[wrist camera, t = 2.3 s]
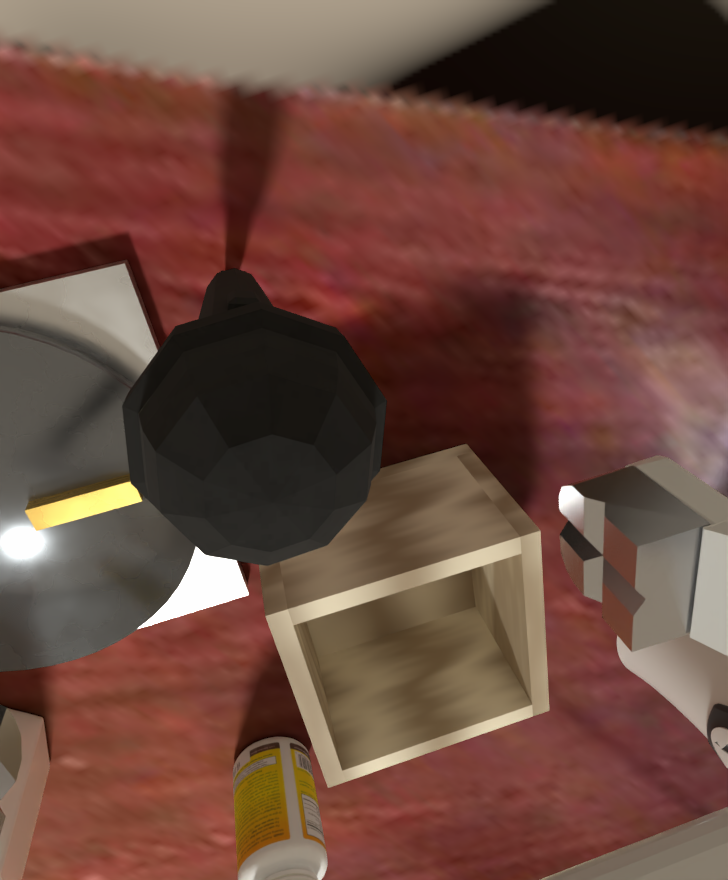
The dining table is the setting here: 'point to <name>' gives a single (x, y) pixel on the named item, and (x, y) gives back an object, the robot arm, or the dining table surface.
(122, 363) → the base
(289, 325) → the microphone
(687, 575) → the robot arm
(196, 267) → the dining table surface
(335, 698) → the open wooden box
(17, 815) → the jar
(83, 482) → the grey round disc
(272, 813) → the supplement bottle
